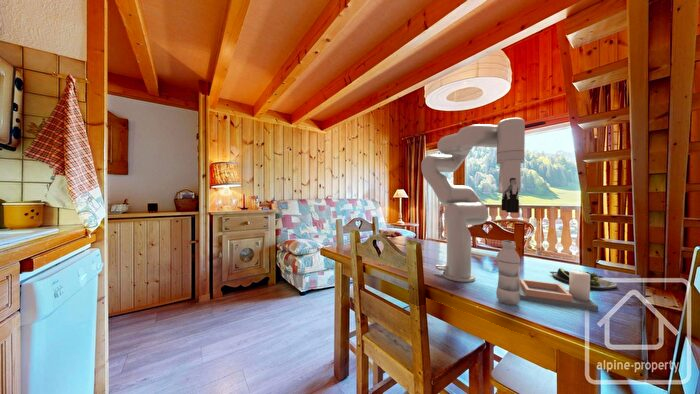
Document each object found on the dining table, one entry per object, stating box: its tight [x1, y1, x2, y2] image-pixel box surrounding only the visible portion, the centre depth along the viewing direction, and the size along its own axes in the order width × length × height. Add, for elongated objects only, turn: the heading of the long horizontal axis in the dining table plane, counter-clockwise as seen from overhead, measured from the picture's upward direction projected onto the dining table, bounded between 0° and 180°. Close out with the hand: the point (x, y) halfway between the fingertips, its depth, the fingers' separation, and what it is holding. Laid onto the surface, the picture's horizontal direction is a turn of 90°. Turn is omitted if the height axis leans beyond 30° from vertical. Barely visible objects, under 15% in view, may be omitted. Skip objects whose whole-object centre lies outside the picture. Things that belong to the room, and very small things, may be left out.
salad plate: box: [549, 268, 618, 291], centre depth 100 cm, size 19×18×5 cm
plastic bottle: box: [495, 240, 521, 306], centre depth 80 cm, size 6×7×20 cm
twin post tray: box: [518, 266, 599, 312], centre depth 85 cm, size 24×12×10 cm, turn 65°
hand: (509, 211), depth 80 cm, fingers open, 9 cm apart
